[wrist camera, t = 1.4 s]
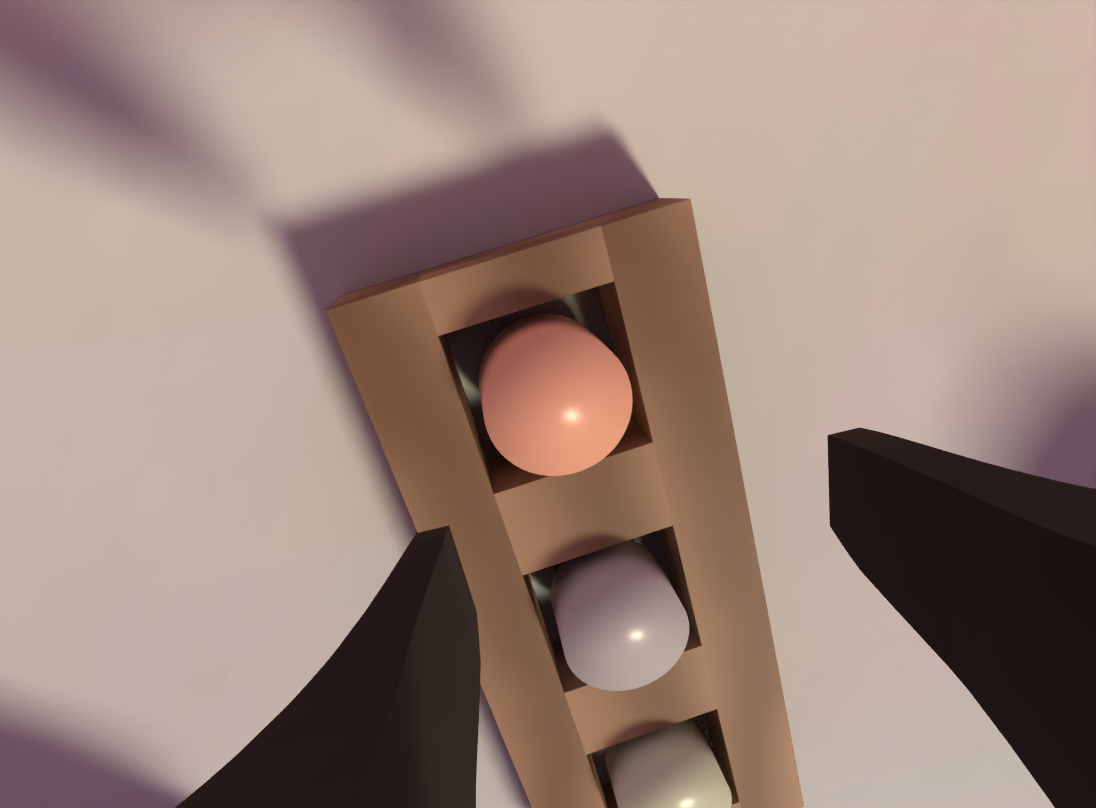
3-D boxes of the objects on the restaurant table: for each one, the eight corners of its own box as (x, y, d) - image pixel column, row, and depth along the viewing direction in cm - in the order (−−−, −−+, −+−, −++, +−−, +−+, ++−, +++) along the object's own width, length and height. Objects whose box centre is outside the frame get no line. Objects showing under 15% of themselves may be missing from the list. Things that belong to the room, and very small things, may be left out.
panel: (556, 830, 27) (566, 892, 24) (341, 295, 18) (324, 310, 16) (773, 753, 27) (804, 806, 25) (660, 198, 19) (690, 198, 16)
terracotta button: (501, 456, 19) (509, 494, 17) (460, 337, 18) (462, 359, 16) (621, 417, 20) (646, 449, 17) (590, 296, 18) (613, 312, 16)
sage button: (618, 801, 25) (637, 867, 23) (594, 730, 24) (611, 792, 21) (712, 768, 25) (740, 829, 23) (693, 696, 24) (721, 753, 21)
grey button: (567, 650, 22) (582, 707, 20) (536, 560, 21) (548, 608, 18) (672, 614, 22) (699, 666, 20) (649, 523, 21) (675, 566, 19)
